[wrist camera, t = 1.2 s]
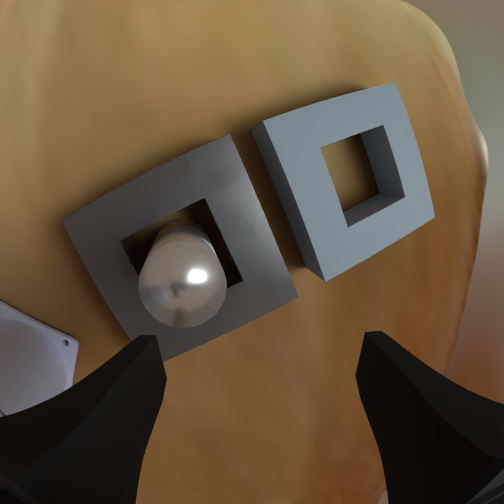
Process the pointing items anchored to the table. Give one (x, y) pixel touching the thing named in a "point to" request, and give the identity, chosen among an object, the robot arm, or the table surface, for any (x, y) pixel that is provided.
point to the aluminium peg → (182, 276)
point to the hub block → (321, 186)
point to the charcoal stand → (163, 204)
